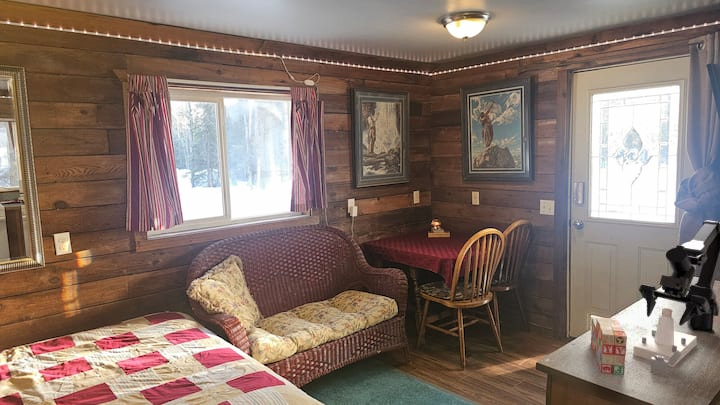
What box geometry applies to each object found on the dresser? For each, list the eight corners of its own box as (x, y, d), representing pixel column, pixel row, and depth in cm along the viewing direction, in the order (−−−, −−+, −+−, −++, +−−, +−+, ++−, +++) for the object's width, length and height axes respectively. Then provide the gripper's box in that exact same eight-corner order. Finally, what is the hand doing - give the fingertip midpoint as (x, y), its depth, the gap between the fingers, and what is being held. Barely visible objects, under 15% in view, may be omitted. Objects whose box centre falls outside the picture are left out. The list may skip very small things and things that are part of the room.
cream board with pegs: (658, 335, 165) (659, 322, 164) (695, 345, 156) (697, 332, 156) (633, 354, 151) (634, 341, 150) (673, 367, 142) (674, 352, 142)
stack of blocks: (590, 343, 160) (591, 307, 158) (610, 345, 158) (612, 309, 156) (600, 373, 140) (602, 333, 138) (624, 376, 138) (627, 335, 136)
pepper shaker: (654, 337, 156) (657, 305, 154) (674, 341, 153) (677, 308, 151) (653, 343, 151) (656, 310, 150) (674, 347, 148) (677, 313, 147)
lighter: (650, 372, 139) (652, 346, 138) (651, 370, 141) (652, 344, 140) (679, 379, 135) (681, 353, 134) (679, 377, 136) (681, 350, 135)
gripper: (643, 259, 158) (624, 299, 153) (709, 272, 143) (691, 315, 138) (652, 278, 164) (635, 316, 159) (716, 292, 149) (700, 334, 144)
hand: (663, 320), depth 150 cm, fingers open, 9 cm apart
